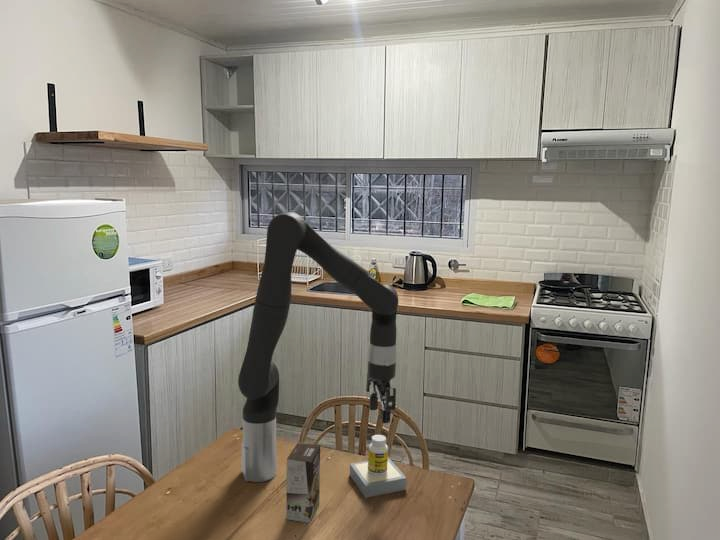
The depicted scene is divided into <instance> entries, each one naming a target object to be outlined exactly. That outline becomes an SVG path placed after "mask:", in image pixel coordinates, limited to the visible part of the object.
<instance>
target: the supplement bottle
mask: <svg viewBox="0 0 720 540" xmlns="http://www.w3.org/2000/svg"><path fill="white" fill-rule="evenodd" d="M386 437H387V436H385V435H383V434H375V435H372V436H371V443H369V446H368V455H367V456H368V457H367V458H368V460H367V461H368V471H369V472H370V473H371V474H374V475H382V474H385V473H386V472H387V462H388V457H389V446H388V445H387V438H386Z"/></svg>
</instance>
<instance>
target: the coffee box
mask: <svg viewBox="0 0 720 540" xmlns="http://www.w3.org/2000/svg"><path fill="white" fill-rule="evenodd" d="M320 475H321V445H319V444H313V443H312V444H311V443H299V442H298V443H296V445H295V446H294V448H293V450H291V451H290V453H289V455H288V456H287V458H286V490H285V491H286V496H285V497H286V500H285V501H286V504H285V505H286V507H285V509H286V511H285V514H286V515H285V516H286V517H285V518H286V520H290V521H296V522H302V523H307V524H309V523H311V520H312V519H313V518H314V517H313V516H314V515H315V512H316V511H317V509H318V507H319V504H320V499H321V498H320V492H321V491H320V489H321V488H320V483H321V481H320V480H321V476H320Z"/></svg>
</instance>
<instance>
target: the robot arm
mask: <svg viewBox="0 0 720 540" xmlns="http://www.w3.org/2000/svg"><path fill="white" fill-rule="evenodd" d="M265 242H266V243H265V244H266V245H265V254H264V255H265V256H264V264H263V268H262V271H261V275H260V279H259V282H258V286H257V291H256V296H255V300H254V306H253V311H252V318H251V323H250V329H249V335H248V341H247V346H246V351H245V355H244V358H243V362H242V363H241V364H242V365H241V367H240V371H239V374H238V380H237V384H238V388H239V392H240V393H241V394H242V395H243V396H244V397H245V398H246V401H245V403H244V405H243V407H242V439H241V473H242V476H243V479H244V482H246V483H247V482H251V483H252V482H253V483H262V482H267V481H270V480H272V479H274V477H275V476H276V474H277V409H278V406H279V401H280V373H279V369H278V367H277V365H276V364H275V363H274V362H273V361H272V360H273V355H274V351H275V350H276V346H277V344H278V343H279V340H280V338H281V336H282V334H283V332H284V329H285V327H286V325H287V324H286V323H287V321H288V316H289V311H290V306H291V302H292V272H293V271H292V270H293V264H294V260H295V257H296V254H297V251H300V252H301V253H302V254H303V253H304V255H306V256H308V257H309V258H311V259H312V260H313V261H314V262H316V263H317V265H319V266H320V268H322V269H323V270H324V271H325V272H326V274H327V275H328V276H330V277H331V278H332V279H333V280H334V281H335V282H337V283H338V284H339V285H341V286H342V287H344V288H346V290H348V291H350V292H351V293H352V294H354V295H355V296H356V297H358V298H359V300H361V301H362V302H363V303H364V304H365V305H366V306H367V307H368V308H370V309H371V324H370V325H371V326H370V331H369V332H370V334H369V347H368V352H367V353H368V354H367V356H368V357H367V375H366V388H365V391H366V393H368V397H369V405H368V407H369V410H370V411H377V409H378V406H379V403H381V422H382V424H389V423H390V422H391V414H392V413H391V411H395V410H396V401H397V400H396V399H397V398H396V397H397V396H396V395H397V388H396V387H391V380H392V379H394V378H395V377H396V370H397V368H396V366H397V364H396V363H397V313H398V306H399V295H398V292H397V290H396V288H394V287H393V286H391V285H389V284H382V283H381V282H379V281H378V280H377V279H376V278H374V277H373V275H372V274H371V272H369V271H368V270H367V269H366V268H365V267H363V266H362V265H360V264H358V263H357V262H356V261H355V260H353V259H351V258H350V257H349V256H347V255H346V254H344V253H343V252H341V251H340V250H339V249H337V248H336V247H335V246H333V245H332V244H331V243H329V242H328V241H327V240H326V239H324V238H323V237H322V236H321V235H320V234H319V233H318V232H316V230H315V229H314V228H313V227H311V225H309V223H308V222H307V221H306V220H305V219H304V218H303V217H302V216H300V214H298V213H296V212H294V211H284V212H281V213H279V214H277V215H275V216H274V217H273V218H272V219H270V221H269V224H268V225H267V231H266V241H265ZM378 402H379V403H378Z"/></svg>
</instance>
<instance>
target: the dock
mask: <svg viewBox="0 0 720 540" xmlns="http://www.w3.org/2000/svg"><path fill="white" fill-rule="evenodd" d="M349 476H350V477H351V479H352V481H353V482H354V484H355V485H356V486H357V488H358V490H359V491H360V493H361V494H362V496H364V498H365V499H368V498H373V497H376V496H383V495H387V494H391V493H397V492H401V491H406V490H407V476H406V475H405V474H404V473H403V472H402V471H401V470H400V469H399V467H398V466H397V465H396V464H395V463H394V462H393V460H392V459H391V458H390V457H389V456H388V462H387V472H386V473H385V474H382V475H374V474H371V473H370V472H369V471H368V460H363V461H358V462H353V463H349Z"/></svg>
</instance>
